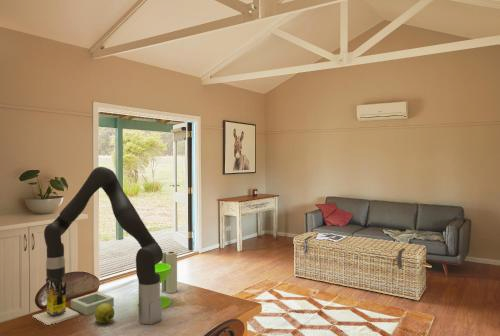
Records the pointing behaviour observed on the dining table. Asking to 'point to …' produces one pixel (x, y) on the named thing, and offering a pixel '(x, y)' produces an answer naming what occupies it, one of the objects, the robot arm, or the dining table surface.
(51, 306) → the supplement box
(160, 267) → the wineglass
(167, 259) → the paper towel roll
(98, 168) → the robot arm
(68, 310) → the mat
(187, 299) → the dining table surface
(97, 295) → the frame
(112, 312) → the apple
